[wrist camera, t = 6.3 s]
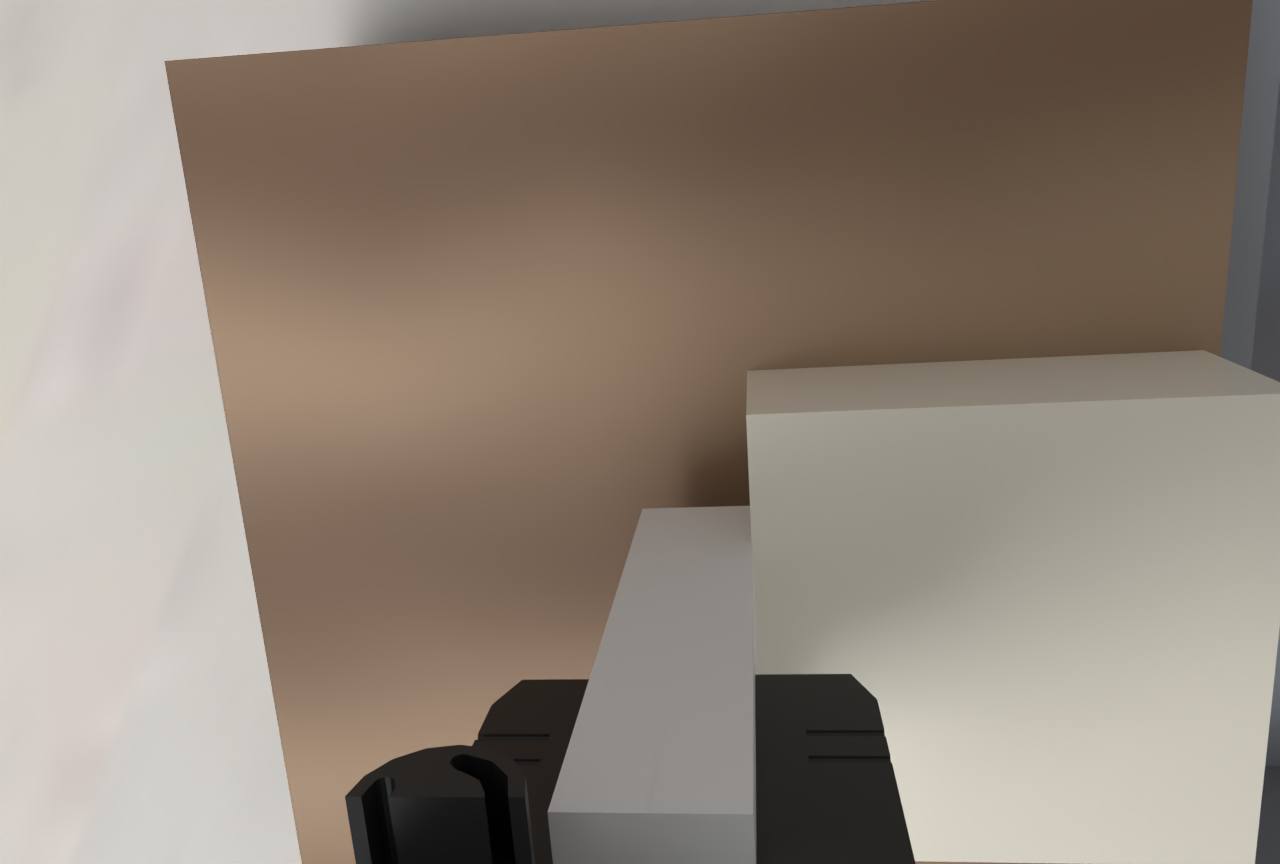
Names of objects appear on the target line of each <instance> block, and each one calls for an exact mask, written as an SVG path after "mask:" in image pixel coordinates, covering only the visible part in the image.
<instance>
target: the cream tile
mask: <svg viewBox="0 0 1280 864" xmlns="http://www.w3.org/2000/svg"><path fill="white" fill-rule="evenodd" d="M746 424H747V448H748V471H749V495H750V518H751V542H752V543H753V565H754V590H755V615H756V640H757V664H758V675H761V674H852V675H853V676H854V677H855V678H856V679H857V680H858V681H859V682H860V683H861V684H862V685H863V686H864V687H865V688H866V689H867V690H868V691H869V692H870V693H871V694H872V695H873V696H874V697H875V698H876V699H877V701H878V705H879V709H880V713H881V718H882V722H883V726H884V733H885V736H886V739H887V743H888V748H889V752H890V759H891V763H892V765H893V769H894V773H895V778H896V782H897V786H898V791H899V795H900V799H901V804H902V808H903V812H904V816H905V821H906V825H907V829H908V834H909V838H910V842H911V846H912V851H913V855H914V859H915V861H924V862H993V863H1061V864H1255V857H1256V848H1257V838H1258V829H1259V819H1260V810H1261V800H1262V791H1263V781H1264V772H1265V762H1266V753H1267V743H1268V734H1269V724H1270V715H1271V705H1272V695H1273V686H1274V676H1275V667H1276V657H1277V648H1278V638H1279V629H1280V382H1278V381H1276V380H1273V379H1271V378H1269V377H1266V376H1264V375H1261V374H1259V373H1257V372H1254V371H1252V370H1250V369H1247V368H1245V367H1243V366H1240V365H1238V364H1236V363H1233V362H1231V361H1228V360H1226V359H1224V358H1221V357H1219V356H1217V355H1214V354H1212V353H1210V352H1207V351H1205V350H1195V351H1173V352H1151V353H1129V354H1106V355H1084V356H1062V357H1040V358H1017V359H995V360H973V361H951V362H929V363H906V364H884V365H862V366H840V367H817V368H795V369H773V370H751V371H747V400H746Z"/></svg>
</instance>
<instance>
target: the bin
mask: <svg viewBox="0 0 1280 864" xmlns="http://www.w3.org/2000/svg"><path fill="white" fill-rule="evenodd" d="M1220 357H1221V358H1224V359H1226V360H1228V361H1231V362H1233V363H1236V364H1238V365H1240V366H1243V367H1245V368H1247V369H1250V370H1252V371H1254V372H1257V373H1259V374H1261V375H1264V376H1266V377H1269V378H1271V379H1273V380H1276V381H1278V382H1280V0H1253V4H1252V15H1251V26H1250V37H1249V48H1248V59H1247V70H1246V81H1245V91H1244V102H1243V113H1242V124H1241V135H1240V146H1239V157H1238V168H1237V179H1236V189H1235V200H1234V211H1233V222H1232V233H1231V244H1230V255H1229V266H1228V277H1227V288H1226V298H1225V309H1224V320H1223V331H1222V342H1221V353H1220ZM1255 864H1280V629H1279V638H1278V648H1277V657H1276V667H1275V676H1274V686H1273V695H1272V705H1271V715H1270V724H1269V734H1268V743H1267V753H1266V762H1265V772H1264V781H1263V791H1262V800H1261V810H1260V819H1259V829H1258V838H1257V848H1256V857H1255Z"/></svg>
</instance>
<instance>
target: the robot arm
mask: <svg viewBox="0 0 1280 864" xmlns="http://www.w3.org/2000/svg"><path fill="white" fill-rule="evenodd" d="M345 800H346V806H347V813H348V819H349V825H350V831H351V837H352V843H353V849H354V855H355V861H356V864H915V859H914V855H913V851H912V846H911V842H910V838H909V834H908V829H907V825H906V821H905V816H904V812H903V808H902V804H901V799H900V795H899V791H898V786H897V782H896V778H895V773H894V769H893V765H892V763H891V759H890V752H889V748H888V743H887V739H886V736H885V733H884V726H883V722H882V718H881V713H880V709H879V705H878V701H877V699H876V698H875V697H874V696H873V695H872V694H871V693H870V692H869V691H868V690H867V689H866V688H865V687H864V686H863V685H862V684H861V683H860V682H859V681H858V680H857V679H856V678H855V677H854V676H853V675H852V674H761V675H758V664H757V640H756V615H755V590H754V565H753V543H752V542H751V518H750V506H721V507H684V508H648V509H642V512H641V515H640V518H639V521H638V525H637V528H636V531H635V534H634V537H633V541H632V544H631V547H630V550H629V553H628V557H627V560H626V563H625V566H624V569H623V573H622V576H621V579H620V582H619V585H618V589H617V592H616V595H615V598H614V601H613V605H612V608H611V611H610V614H609V617H608V621H607V624H606V627H605V630H604V633H603V637H602V640H601V643H600V646H599V649H598V653H597V656H596V659H595V662H594V665H593V668H592V672H591V675H590V678H589V679H543V680H521V681H520V682H519V683H518V684H516V685H515V686H514V687H513V688H511V689H510V690H509V691H508V692H507V693H505V694H504V695H503V696H502V697H501V698H499V699H498V700H497V701H496V702H494V703H493V704H492V705H491V707H490V709H489V711H488V714H487V716H486V718H485V720H484V722H483V724H482V726H481V728H480V730H479V732H478V740H475V741H474V743H473V745H472V746H467V745H452V746H443V747H434V748H426V749H423V750H419V751H416V752H413V753H410V754H407V755H404V756H401V757H398V758H395V759H392V760H390V761H389V762H387V763H385V764H384V765H382V766H380V767H378V768H377V769H375V770H373V771H372V772H370V773H368V774H366V775H365V776H364V777H363V778H362V779H361V780H360V781H359V782H358V783H357V784H356V785H355V786H354V787H353V788H352V789H351V790H350V792H349V793H348V794H347V795H346V796H345Z"/></svg>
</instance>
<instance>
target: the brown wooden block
mask: <svg viewBox="0 0 1280 864" xmlns="http://www.w3.org/2000/svg"><path fill="white" fill-rule="evenodd" d="M1252 4H1253V0H937V1H924V2H912V3H899V4H886V5H873V6H861V7H848V8H835V9H822V10H810V11H797V12H784V13H772V14H759V15H746V16H733V17H721V18H708V19H695V20H682V21H670V22H657V23H644V24H632V25H619V26H606V27H593V28H581V29H568V30H555V31H542V32H530V33H517V34H504V35H492V36H479V37H466V38H453V39H441V40H428V41H415V42H402V43H390V44H377V45H364V46H352V47H339V48H326V49H313V50H301V51H288V52H275V53H262V54H250V55H237V56H224V57H212V58H199V59H186V60H173V61H165V66H166V72H167V78H168V84H169V90H170V95H171V101H172V107H173V113H174V119H175V125H176V130H177V136H178V142H179V148H180V154H181V160H182V166H183V171H184V177H185V183H186V189H187V195H188V201H189V206H190V212H191V218H192V224H193V230H194V236H195V241H196V247H197V253H198V259H199V265H200V271H201V276H202V282H203V288H204V294H205V300H206V306H207V312H208V317H209V323H210V329H211V335H212V341H213V347H214V352H215V358H216V364H217V370H218V376H219V382H220V387H221V393H222V399H223V405H224V411H225V417H226V422H227V428H228V434H229V440H230V446H231V452H232V458H233V463H234V469H235V475H236V481H237V487H238V493H239V498H240V504H241V510H242V516H243V522H244V528H245V533H246V539H247V545H248V551H249V557H250V563H251V568H252V574H253V580H254V586H255V592H256V598H257V604H258V609H259V615H260V621H261V627H262V633H263V639H264V644H265V650H266V656H267V662H268V668H269V674H270V679H271V685H272V691H273V697H274V703H275V709H276V714H277V720H278V726H279V732H280V738H281V744H282V750H283V755H284V761H285V767H286V773H287V779H288V785H289V790H290V796H291V802H292V808H293V814H294V820H295V825H296V831H297V837H298V843H299V849H300V855H301V860H302V864H356V861H355V855H354V849H353V843H352V837H351V831H350V825H349V819H348V813H347V806H346V800H345V796H346V795H347V794H348V793H349V792H350V790H351V789H352V788H353V787H354V786H355V785H356V784H357V783H358V782H359V781H360V780H361V779H362V778H363V777H364V776H365V775H366V774H368V773H370V772H372V771H373V770H375V769H377V768H378V767H380V766H382V765H384V764H385V763H387V762H389V761H390V760H392V759H395V758H398V757H401V756H404V755H407V754H410V753H413V752H416V751H419V750H423V749H426V748H434V747H443V746H452V745H467V746H472V745H473V743H474V741H475V740H478V732H479V730H480V728H481V726H482V724H483V722H484V720H485V718H486V716H487V714H488V711H489V709H490V707H491V705H492V704H493V703H494V702H496V701H497V700H498V699H499V698H501V697H502V696H503V695H504V694H505V693H507V692H508V691H509V690H510V689H511V688H513V687H514V686H515V685H516V684H518V683H519V682H520V681H521V680H543V679H589V678H590V675H591V672H592V668H593V665H594V662H595V659H596V656H597V653H598V649H599V646H600V643H601V640H602V637H603V633H604V630H605V627H606V624H607V621H608V617H609V614H610V611H611V608H612V605H613V601H614V598H615V595H616V592H617V589H618V585H619V582H620V579H621V576H622V573H623V569H624V566H625V563H626V560H627V557H628V553H629V550H630V547H631V544H632V541H633V537H634V534H635V531H636V528H637V525H638V521H639V518H640V515H641V512H642V509H648V508H684V507H721V506H750V495H749V471H748V448H747V424H746V400H747V371H751V370H773V369H795V368H817V367H840V366H862V365H884V364H906V363H929V362H951V361H973V360H995V359H1017V358H1040V357H1062V356H1084V355H1106V354H1129V353H1151V352H1173V351H1195V350H1205V351H1207V352H1210V353H1212V354H1214V355H1217V356H1219V357H1220V353H1221V342H1222V331H1223V320H1224V309H1225V298H1226V288H1227V277H1228V266H1229V255H1230V244H1231V233H1232V222H1233V211H1234V200H1235V189H1236V179H1237V168H1238V157H1239V146H1240V135H1241V124H1242V113H1243V102H1244V91H1245V81H1246V70H1247V59H1248V48H1249V37H1250V26H1251V15H1252ZM915 864H1061V863H993V862H924V861H915Z"/></svg>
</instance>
